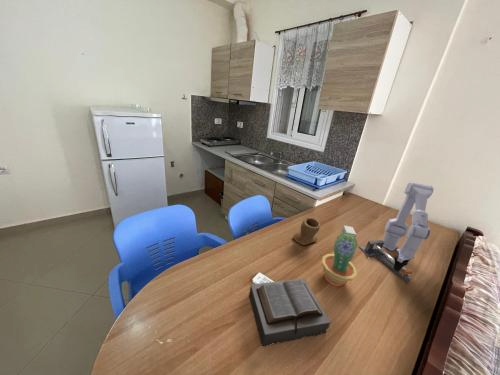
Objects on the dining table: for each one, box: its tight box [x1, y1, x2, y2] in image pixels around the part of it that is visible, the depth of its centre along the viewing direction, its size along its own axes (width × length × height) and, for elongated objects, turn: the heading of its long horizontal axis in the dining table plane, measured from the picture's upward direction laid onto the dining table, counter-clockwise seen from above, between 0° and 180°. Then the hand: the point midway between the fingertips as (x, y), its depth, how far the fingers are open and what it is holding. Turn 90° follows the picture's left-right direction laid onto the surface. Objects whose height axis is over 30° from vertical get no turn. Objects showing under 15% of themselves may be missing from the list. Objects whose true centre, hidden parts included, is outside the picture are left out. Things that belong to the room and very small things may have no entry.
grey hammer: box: [358, 239, 412, 284], centre depth 109 cm, size 12×26×7 cm, turn 14°
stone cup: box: [292, 217, 321, 246], centre depth 117 cm, size 15×12×15 cm
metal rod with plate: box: [375, 245, 414, 276], centre depth 107 cm, size 6×20×3 cm, turn 15°
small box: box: [339, 225, 357, 238], centre depth 119 cm, size 8×6×10 cm
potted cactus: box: [321, 232, 359, 287], centre depth 90 cm, size 15×15×25 cm
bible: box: [248, 278, 332, 347], centre depth 74 cm, size 23×27×10 cm
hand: (398, 267), depth 103 cm, fingers open, 6 cm apart
